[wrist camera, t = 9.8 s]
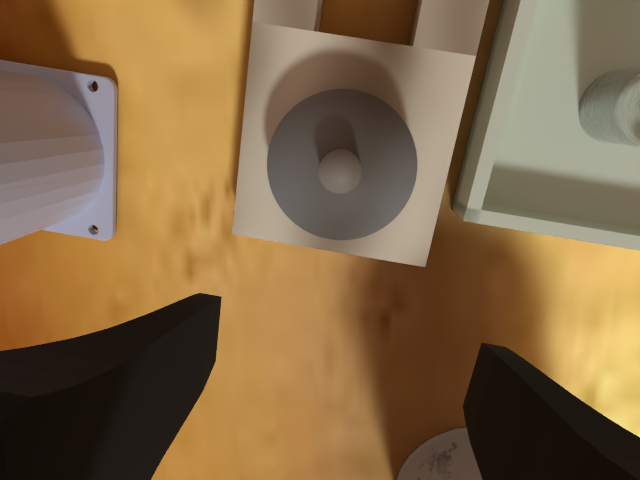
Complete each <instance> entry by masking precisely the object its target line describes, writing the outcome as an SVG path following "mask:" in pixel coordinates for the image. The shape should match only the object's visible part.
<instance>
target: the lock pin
mask: <svg viewBox="0 0 640 480" xmlns="http://www.w3.org/2000/svg"><path fill="white" fill-rule="evenodd" d="M578 116H579V121H580V124H581V126H582V128H583V130H584V131H585V133H586V134H587V135H588V136H590V137H591V138H593V139H595V140H597V141H600V142H605V143H612V144H620V145H628V146H636V147H640V66H636V67H630V68H623V69H617V70H612V71H609V72H607V73H605V74H603V75H601V76H599V77H598V78H596V79H595V80H594V81H593V82H592V83H591V84H590V85H589V86H588V87H587V89H586V90H585V92H584V94H583V96H582V98H581V100H580V104H579V110H578Z"/></svg>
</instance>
